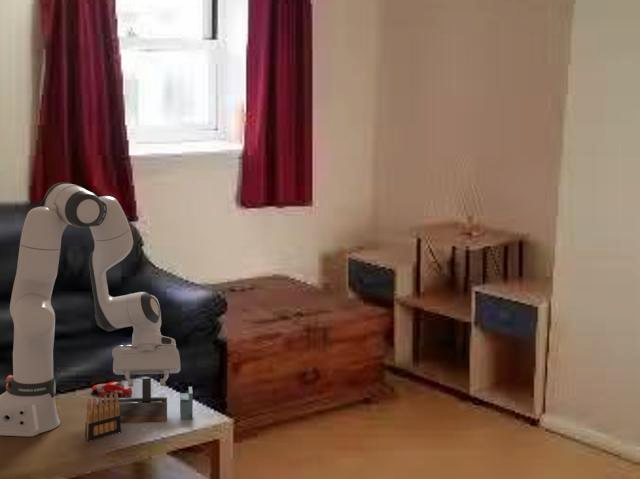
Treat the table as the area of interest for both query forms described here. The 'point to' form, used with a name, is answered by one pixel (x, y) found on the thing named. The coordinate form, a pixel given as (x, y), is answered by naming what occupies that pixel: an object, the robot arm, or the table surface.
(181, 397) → the socket block
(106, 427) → the ammunition clip
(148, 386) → the tube
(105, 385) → the race car
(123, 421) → the channel tray
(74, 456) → the table surface
